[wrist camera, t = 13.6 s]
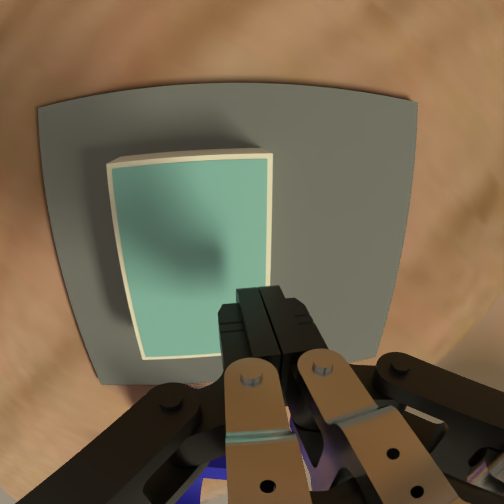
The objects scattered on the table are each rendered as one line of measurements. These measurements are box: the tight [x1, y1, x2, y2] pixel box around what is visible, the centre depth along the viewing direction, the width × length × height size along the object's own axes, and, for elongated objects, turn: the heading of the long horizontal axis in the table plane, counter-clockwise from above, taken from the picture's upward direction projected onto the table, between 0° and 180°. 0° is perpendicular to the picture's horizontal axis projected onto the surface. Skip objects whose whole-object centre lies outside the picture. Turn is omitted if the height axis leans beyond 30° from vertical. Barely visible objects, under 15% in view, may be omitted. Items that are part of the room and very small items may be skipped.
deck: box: [106, 148, 273, 360], centre depth 13 cm, size 9×2×6 cm
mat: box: [38, 83, 418, 385], centre depth 15 cm, size 16×18×1 cm
